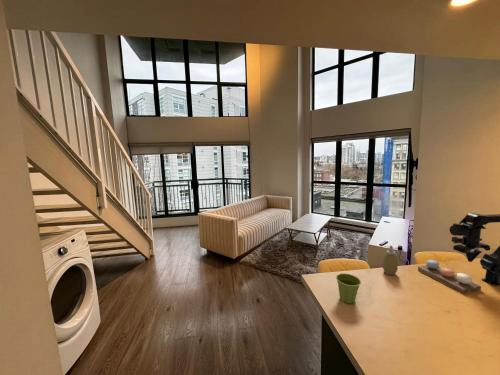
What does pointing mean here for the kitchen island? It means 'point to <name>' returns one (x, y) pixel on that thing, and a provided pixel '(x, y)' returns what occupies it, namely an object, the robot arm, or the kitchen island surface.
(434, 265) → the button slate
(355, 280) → the plant pot
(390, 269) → the squeeze bottle
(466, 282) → the cream white rounded ball
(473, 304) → the kitchen island surface
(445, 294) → the kitchen island surface
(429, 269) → the button board
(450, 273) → the peach rounded lump
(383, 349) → the kitchen island surface
